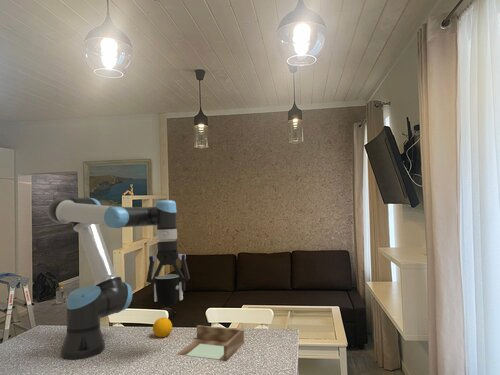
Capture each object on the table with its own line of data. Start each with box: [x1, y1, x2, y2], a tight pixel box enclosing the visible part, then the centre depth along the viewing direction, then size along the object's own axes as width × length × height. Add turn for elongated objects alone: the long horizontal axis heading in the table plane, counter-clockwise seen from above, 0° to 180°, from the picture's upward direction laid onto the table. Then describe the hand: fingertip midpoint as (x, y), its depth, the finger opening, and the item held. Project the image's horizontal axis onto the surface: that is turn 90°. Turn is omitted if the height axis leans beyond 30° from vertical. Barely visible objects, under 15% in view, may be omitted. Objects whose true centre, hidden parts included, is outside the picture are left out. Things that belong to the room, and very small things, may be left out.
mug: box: [155, 274, 180, 307], centre depth 132 cm, size 12×9×10 cm
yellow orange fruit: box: [152, 317, 173, 338], centre depth 148 cm, size 8×8×8 cm
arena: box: [176, 325, 245, 362], centre depth 130 cm, size 20×17×6 cm
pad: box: [186, 344, 224, 361], centre depth 127 cm, size 13×11×1 cm
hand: (168, 300), depth 132 cm, fingers closed on mug, 9 cm apart
